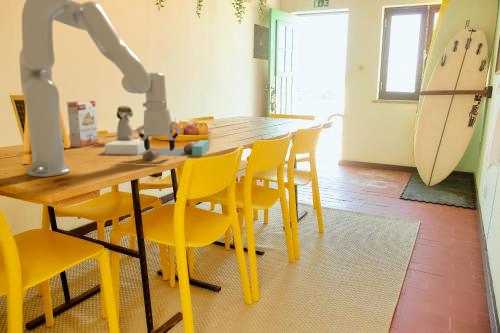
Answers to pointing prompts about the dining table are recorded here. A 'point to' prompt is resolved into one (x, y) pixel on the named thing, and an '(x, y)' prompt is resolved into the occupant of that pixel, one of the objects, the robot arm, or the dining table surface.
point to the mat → (162, 152)
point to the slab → (124, 147)
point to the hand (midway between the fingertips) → (159, 149)
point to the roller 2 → (189, 147)
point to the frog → (124, 124)
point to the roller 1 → (151, 154)
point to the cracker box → (82, 123)
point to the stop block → (200, 148)
